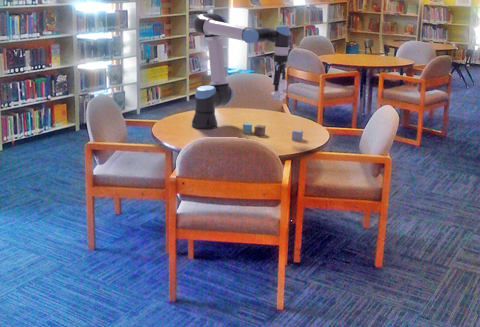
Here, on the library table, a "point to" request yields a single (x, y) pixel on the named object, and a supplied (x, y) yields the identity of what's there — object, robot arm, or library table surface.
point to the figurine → (281, 94)
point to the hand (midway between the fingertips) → (278, 95)
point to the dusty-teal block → (247, 127)
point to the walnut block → (259, 130)
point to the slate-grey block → (297, 135)
